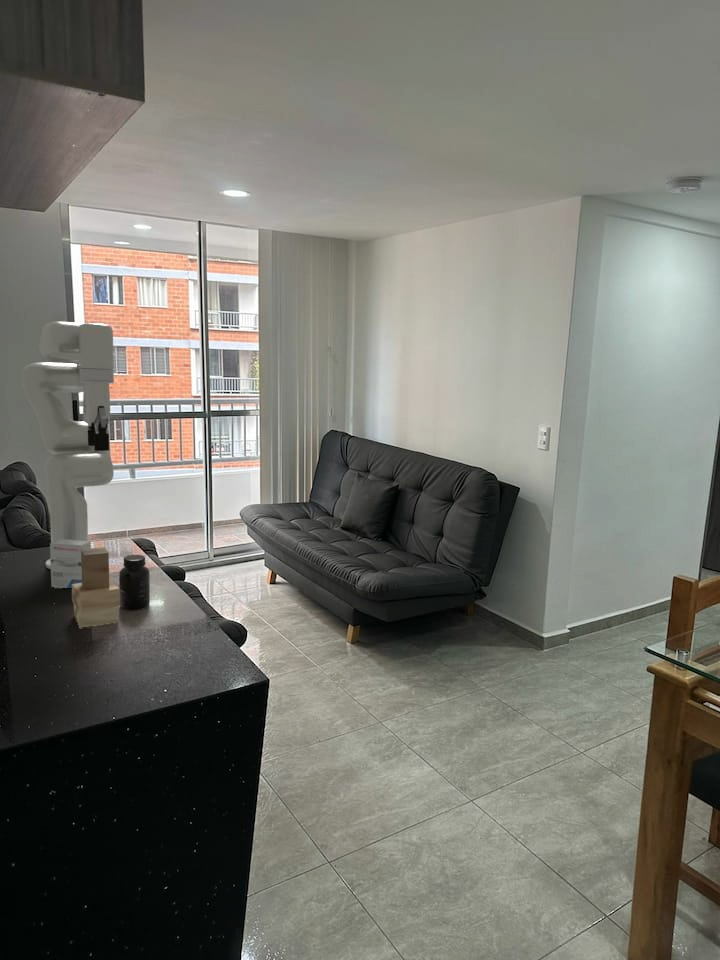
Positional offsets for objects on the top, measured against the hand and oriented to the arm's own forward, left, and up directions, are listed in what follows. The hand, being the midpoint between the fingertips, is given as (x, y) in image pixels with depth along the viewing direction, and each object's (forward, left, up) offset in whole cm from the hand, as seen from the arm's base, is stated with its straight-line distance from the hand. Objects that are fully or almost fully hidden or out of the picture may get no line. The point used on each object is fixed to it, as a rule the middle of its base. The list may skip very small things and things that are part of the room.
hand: (98, 448), depth 158 cm
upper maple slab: (+19, -4, -33) cm, 38 cm away
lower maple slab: (+19, -4, -37) cm, 41 cm away
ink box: (-7, -6, -36) cm, 38 cm away
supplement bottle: (+14, +5, -36) cm, 39 cm away
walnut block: (+18, -4, -29) cm, 34 cm away
